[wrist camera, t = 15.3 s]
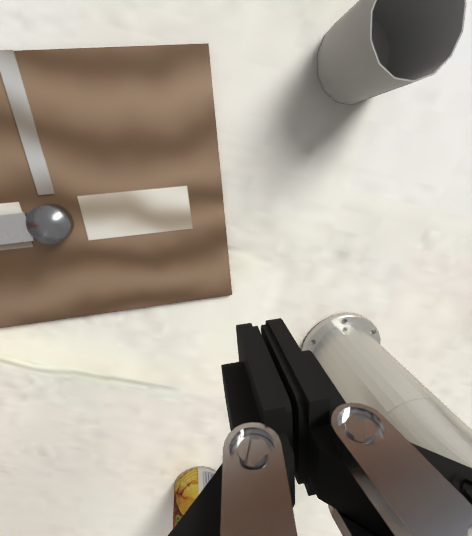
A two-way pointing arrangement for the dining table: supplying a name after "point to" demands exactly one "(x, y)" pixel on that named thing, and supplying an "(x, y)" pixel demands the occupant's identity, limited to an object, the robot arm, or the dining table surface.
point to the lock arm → (36, 225)
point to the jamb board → (111, 180)
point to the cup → (387, 46)
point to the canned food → (189, 489)
